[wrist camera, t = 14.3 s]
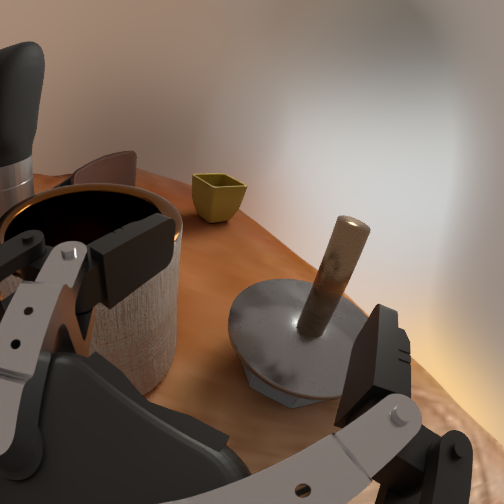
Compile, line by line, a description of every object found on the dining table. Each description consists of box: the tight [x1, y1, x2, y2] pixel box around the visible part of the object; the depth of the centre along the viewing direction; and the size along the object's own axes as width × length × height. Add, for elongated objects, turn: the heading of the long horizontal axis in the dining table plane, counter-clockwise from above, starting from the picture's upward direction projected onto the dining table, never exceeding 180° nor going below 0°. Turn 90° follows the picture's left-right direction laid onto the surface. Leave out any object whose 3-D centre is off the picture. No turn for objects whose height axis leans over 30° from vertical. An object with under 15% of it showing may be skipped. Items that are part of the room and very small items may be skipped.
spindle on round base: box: [228, 216, 370, 400], centre depth 25 cm, size 17×17×13 cm
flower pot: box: [192, 173, 247, 223], centre depth 60 cm, size 9×9×9 cm
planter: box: [0, 183, 183, 395], centre depth 23 cm, size 18×18×16 cm
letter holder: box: [52, 151, 137, 189], centre depth 47 cm, size 10×20×14 cm, turn 170°
